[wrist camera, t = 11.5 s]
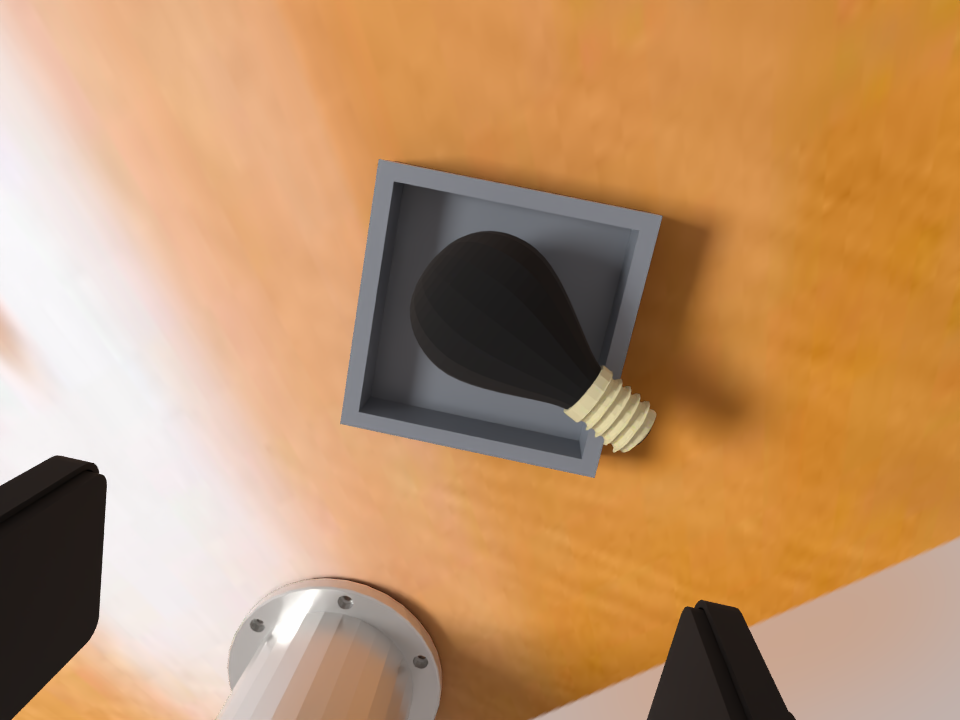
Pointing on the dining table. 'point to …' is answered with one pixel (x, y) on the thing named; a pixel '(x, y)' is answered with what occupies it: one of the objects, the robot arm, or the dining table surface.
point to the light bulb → (519, 335)
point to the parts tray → (431, 392)
